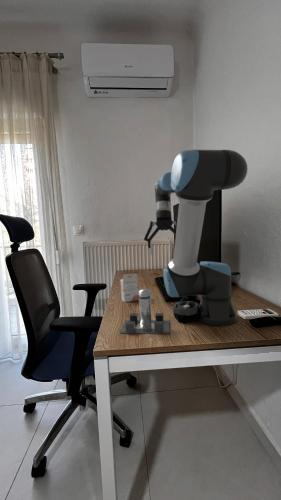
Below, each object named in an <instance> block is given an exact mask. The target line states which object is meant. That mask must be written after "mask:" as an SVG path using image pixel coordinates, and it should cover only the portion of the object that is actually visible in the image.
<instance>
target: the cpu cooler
mask: <svg viewBox="0 0 281 500" xmlns="http://www.w3.org/2000/svg"><path fill="white" fill-rule="evenodd" d="M199 305H200V303H198V302H196V301H190V300H188V301H181V302H176V303H173V309H172V311H173V317H174V318H175V319H176V321H177V322H178V323H179V324H180V323H181V324H183V323H190V322H195V321H199V319H200V317H199V312H200V311H199Z"/></svg>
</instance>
